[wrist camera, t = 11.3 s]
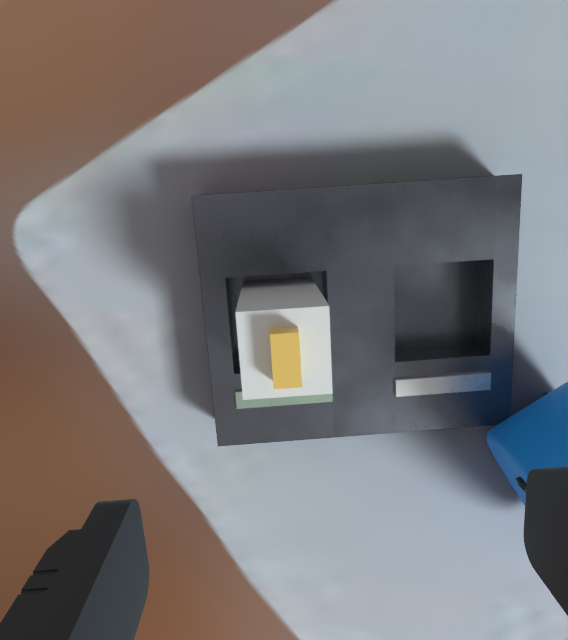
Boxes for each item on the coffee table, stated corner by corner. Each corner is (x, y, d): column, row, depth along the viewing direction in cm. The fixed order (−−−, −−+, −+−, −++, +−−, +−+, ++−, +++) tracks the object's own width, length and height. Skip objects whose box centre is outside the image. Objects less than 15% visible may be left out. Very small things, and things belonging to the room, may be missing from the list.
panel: (495, 176, 28) (524, 174, 25) (486, 403, 32) (511, 425, 29) (199, 196, 28) (190, 195, 25) (222, 423, 31) (217, 448, 28)
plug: (311, 277, 29) (332, 311, 20) (314, 342, 30) (335, 402, 21) (243, 281, 29) (233, 317, 20) (248, 347, 30) (241, 409, 21)
